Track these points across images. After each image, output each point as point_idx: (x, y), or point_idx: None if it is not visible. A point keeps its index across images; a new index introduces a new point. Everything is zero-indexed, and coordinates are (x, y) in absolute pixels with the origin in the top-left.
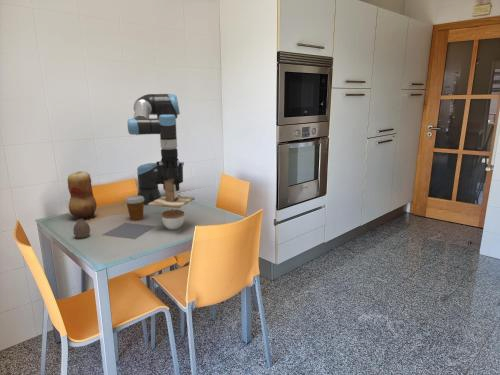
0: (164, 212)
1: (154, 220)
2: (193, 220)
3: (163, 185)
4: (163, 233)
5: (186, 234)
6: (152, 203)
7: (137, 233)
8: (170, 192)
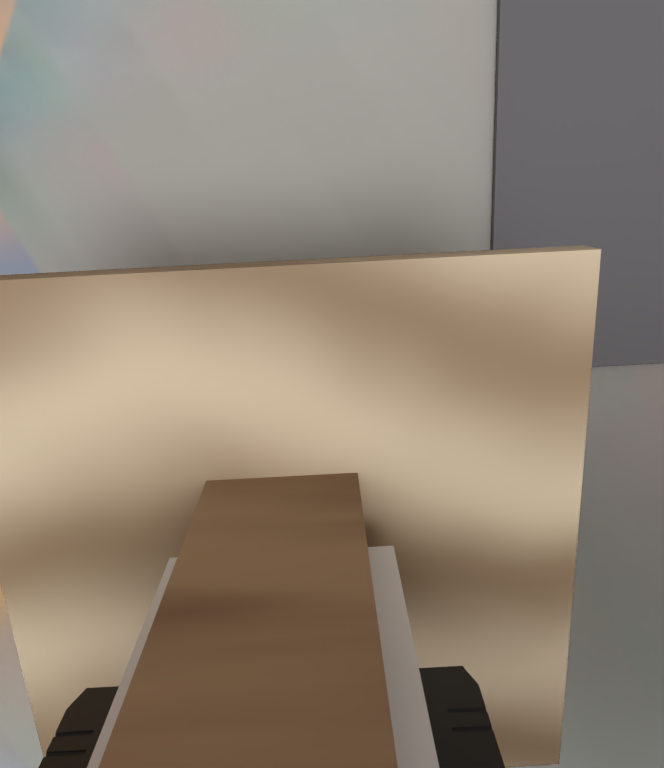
0: None
1: (600, 515)
2: None
3: (496, 765)
4: (313, 226)
5: None
6: (523, 278)
7: (568, 106)
8: (226, 583)
